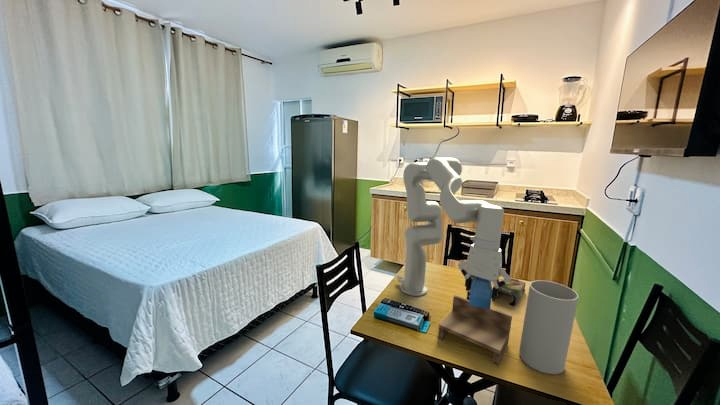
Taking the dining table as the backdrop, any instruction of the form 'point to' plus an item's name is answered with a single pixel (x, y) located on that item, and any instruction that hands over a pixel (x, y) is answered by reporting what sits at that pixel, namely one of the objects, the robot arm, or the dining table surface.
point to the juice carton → (513, 290)
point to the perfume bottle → (480, 293)
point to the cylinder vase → (548, 326)
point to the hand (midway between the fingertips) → (480, 293)
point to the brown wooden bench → (478, 326)
